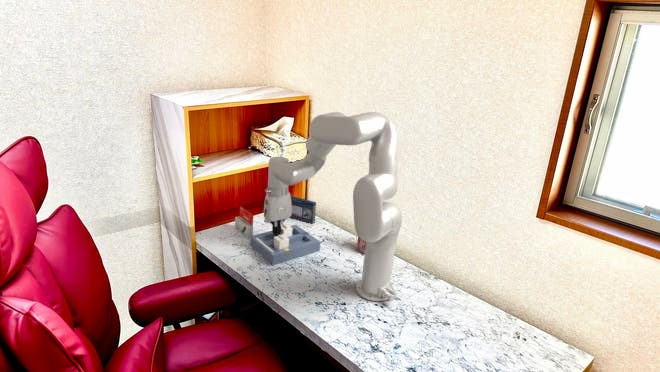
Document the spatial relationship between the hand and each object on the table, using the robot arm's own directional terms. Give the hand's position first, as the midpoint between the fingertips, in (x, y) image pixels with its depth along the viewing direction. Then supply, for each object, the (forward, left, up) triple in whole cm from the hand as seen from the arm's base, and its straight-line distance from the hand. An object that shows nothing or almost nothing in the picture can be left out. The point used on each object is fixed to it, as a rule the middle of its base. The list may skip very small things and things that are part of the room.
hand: (276, 234), depth 166 cm
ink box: (+16, +6, -5) cm, 18 cm away
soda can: (-21, -28, -5) cm, 36 cm away
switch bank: (-3, -2, -5) cm, 6 cm away
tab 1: (0, -4, -3) cm, 5 cm away
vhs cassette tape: (+17, -20, -5) cm, 27 cm away
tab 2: (-7, +2, -3) cm, 8 cm away
